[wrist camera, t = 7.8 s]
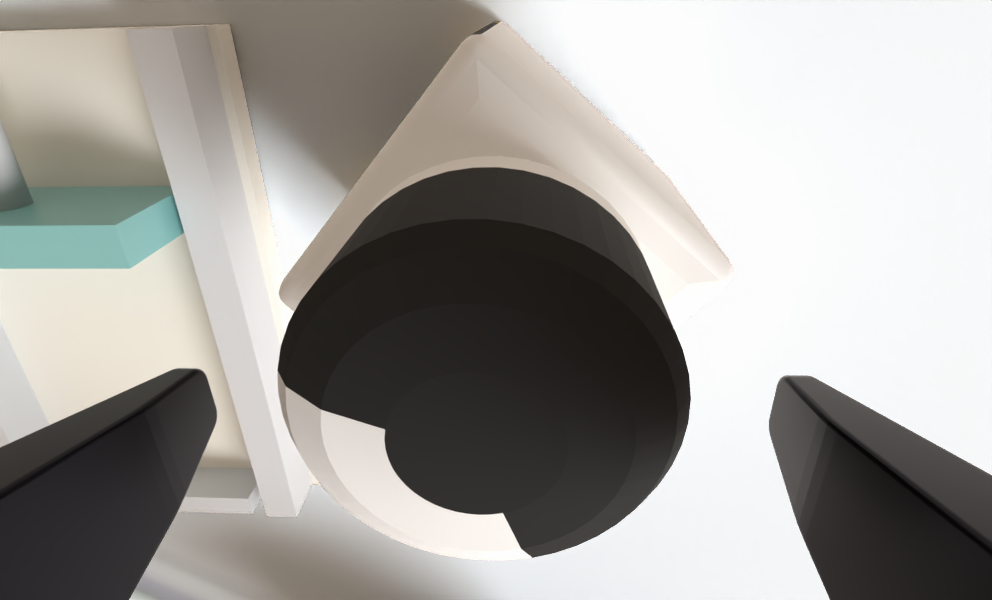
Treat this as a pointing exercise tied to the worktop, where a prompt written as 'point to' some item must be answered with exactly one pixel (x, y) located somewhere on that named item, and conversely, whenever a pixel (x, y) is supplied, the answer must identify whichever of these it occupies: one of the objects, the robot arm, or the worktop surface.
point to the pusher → (80, 222)
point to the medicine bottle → (497, 318)
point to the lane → (167, 272)
